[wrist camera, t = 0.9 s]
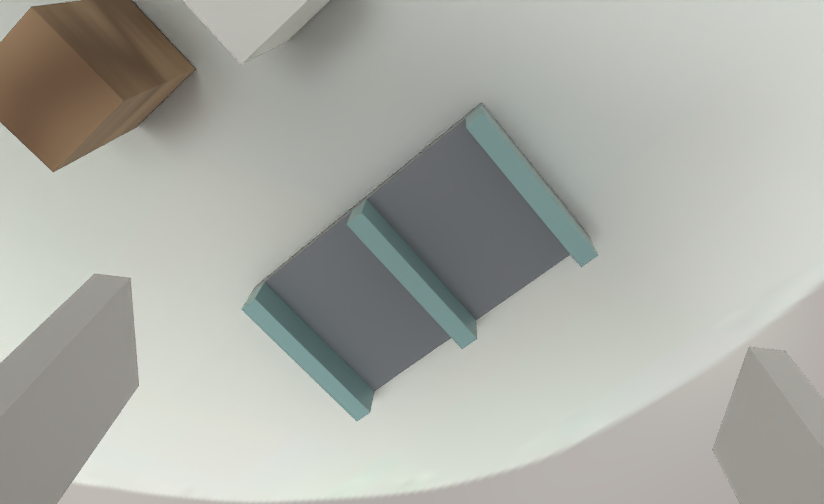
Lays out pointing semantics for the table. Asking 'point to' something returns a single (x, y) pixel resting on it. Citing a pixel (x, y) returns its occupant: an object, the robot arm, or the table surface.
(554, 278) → the table surface
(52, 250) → the table surface
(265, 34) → the white rectangular block
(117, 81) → the walnut plug
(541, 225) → the teal-ribbed grey panel
